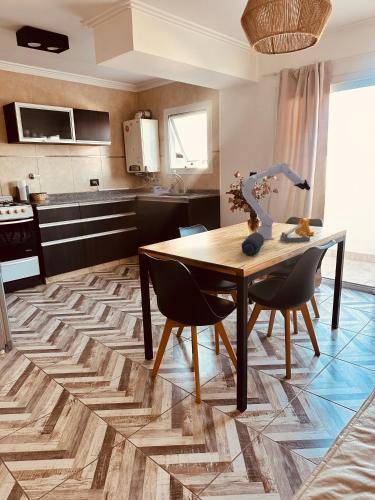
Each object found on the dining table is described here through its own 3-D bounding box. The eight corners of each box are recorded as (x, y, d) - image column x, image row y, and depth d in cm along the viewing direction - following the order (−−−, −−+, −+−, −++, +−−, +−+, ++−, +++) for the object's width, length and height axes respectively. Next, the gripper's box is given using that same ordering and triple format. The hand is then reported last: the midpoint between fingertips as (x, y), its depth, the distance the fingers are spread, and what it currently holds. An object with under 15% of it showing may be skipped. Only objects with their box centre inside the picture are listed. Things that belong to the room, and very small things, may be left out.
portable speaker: (249, 246, 216) (249, 231, 214) (265, 247, 213) (265, 231, 210) (239, 257, 194) (239, 239, 191) (257, 258, 190) (257, 240, 188)
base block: (286, 242, 222) (286, 234, 220) (280, 239, 231) (280, 231, 230) (309, 241, 223) (310, 233, 222) (302, 238, 233) (303, 230, 232)
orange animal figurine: (314, 235, 241) (315, 218, 239) (308, 236, 237) (309, 219, 234) (300, 233, 250) (301, 216, 247) (295, 234, 245) (295, 218, 242)
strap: (285, 237, 224) (284, 235, 224) (283, 236, 227) (282, 234, 227) (302, 225, 224) (301, 224, 224) (300, 225, 227) (299, 223, 227)
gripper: (301, 171, 222) (315, 184, 225) (291, 171, 236) (305, 183, 239) (294, 180, 223) (308, 193, 226) (285, 179, 237) (299, 191, 240)
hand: (306, 189), depth 232 cm, fingers open, 7 cm apart
